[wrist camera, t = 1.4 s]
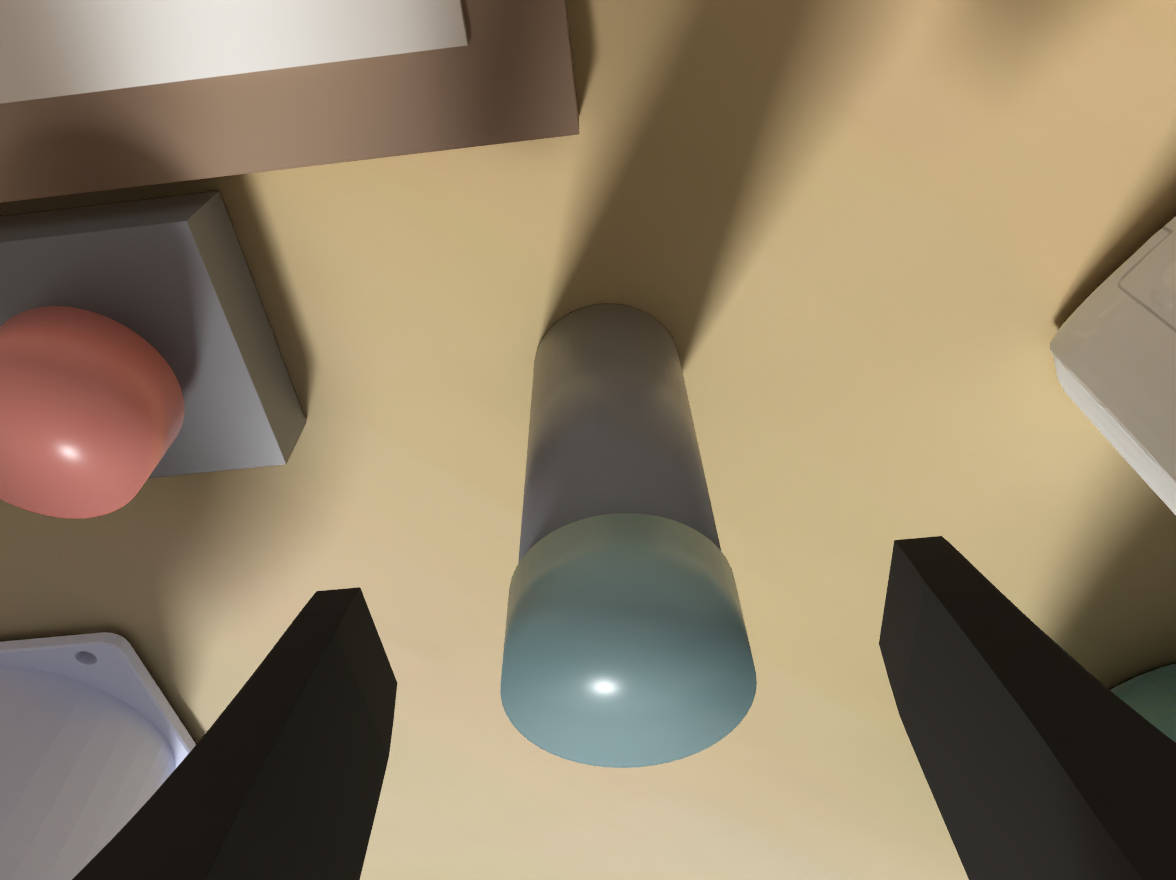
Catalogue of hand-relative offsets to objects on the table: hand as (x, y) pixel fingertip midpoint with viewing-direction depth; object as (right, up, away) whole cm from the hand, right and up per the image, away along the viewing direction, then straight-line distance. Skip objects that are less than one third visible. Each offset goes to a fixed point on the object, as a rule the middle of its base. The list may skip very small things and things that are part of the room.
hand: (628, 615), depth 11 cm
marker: (0, +4, +5) cm, 7 cm away
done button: (-9, +3, +3) cm, 10 cm away
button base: (-9, +5, +5) cm, 11 cm away
